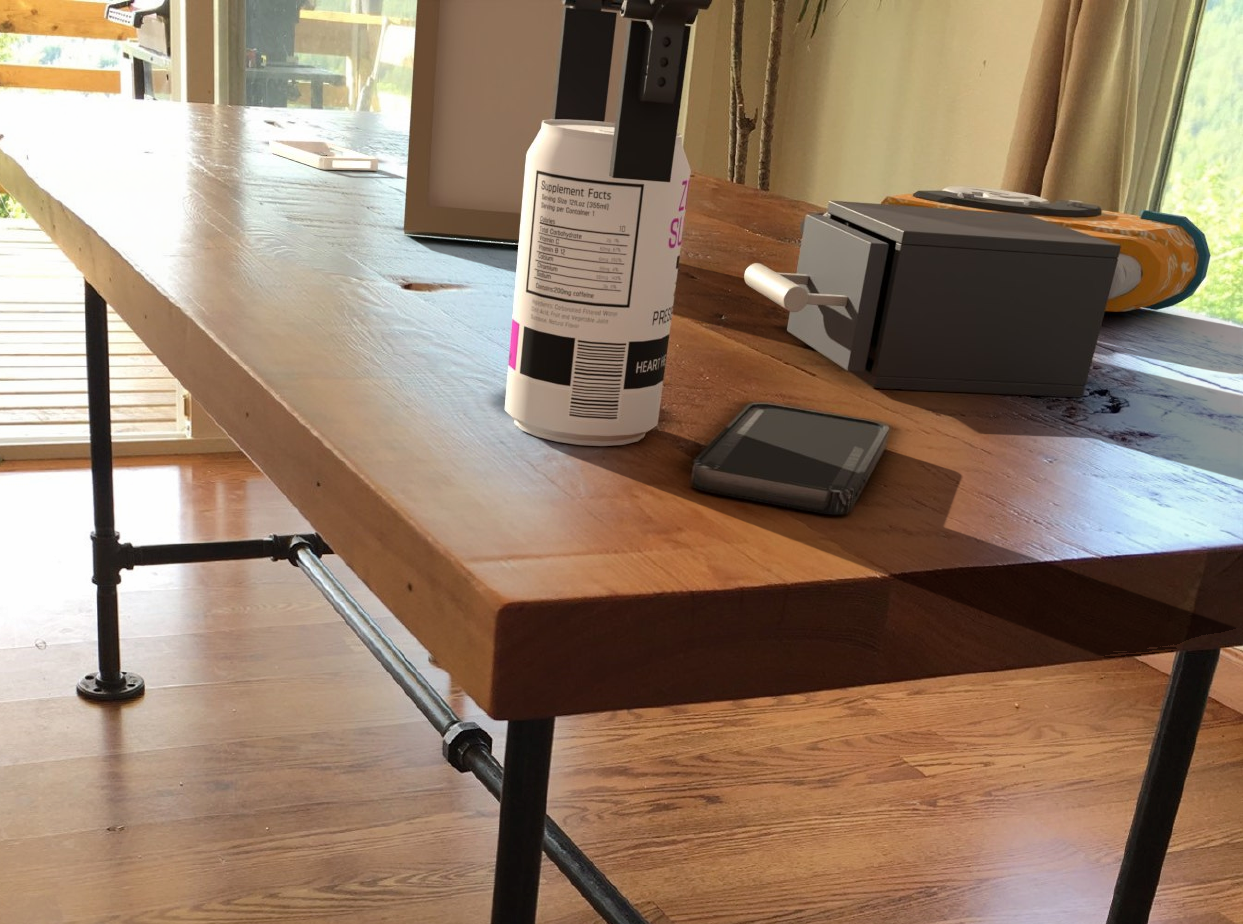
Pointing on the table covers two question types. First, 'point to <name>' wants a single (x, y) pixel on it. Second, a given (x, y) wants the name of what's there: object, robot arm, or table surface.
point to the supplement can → (592, 289)
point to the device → (1150, 244)
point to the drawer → (833, 289)
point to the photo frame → (482, 111)
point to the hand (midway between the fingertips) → (604, 161)
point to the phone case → (310, 151)
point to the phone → (792, 458)
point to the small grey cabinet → (985, 301)
